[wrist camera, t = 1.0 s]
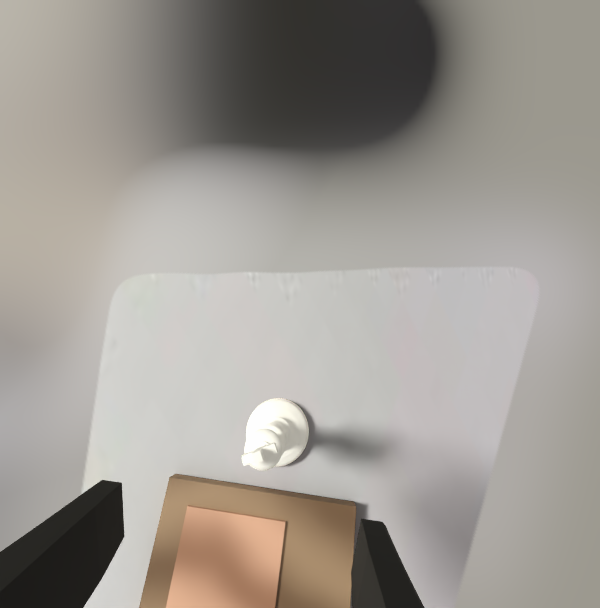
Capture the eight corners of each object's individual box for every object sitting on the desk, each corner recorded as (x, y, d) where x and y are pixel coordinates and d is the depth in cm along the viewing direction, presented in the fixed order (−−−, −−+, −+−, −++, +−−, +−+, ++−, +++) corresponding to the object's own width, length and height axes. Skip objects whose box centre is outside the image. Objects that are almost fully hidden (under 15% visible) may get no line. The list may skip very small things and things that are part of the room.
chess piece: (318, 451, 22) (326, 494, 13) (257, 476, 22) (219, 539, 12) (296, 389, 24) (289, 385, 14) (239, 411, 23) (192, 422, 14)
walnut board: (339, 727, 18) (342, 750, 16) (127, 684, 18) (115, 703, 17) (353, 501, 21) (356, 507, 20) (175, 473, 22) (168, 478, 21)
